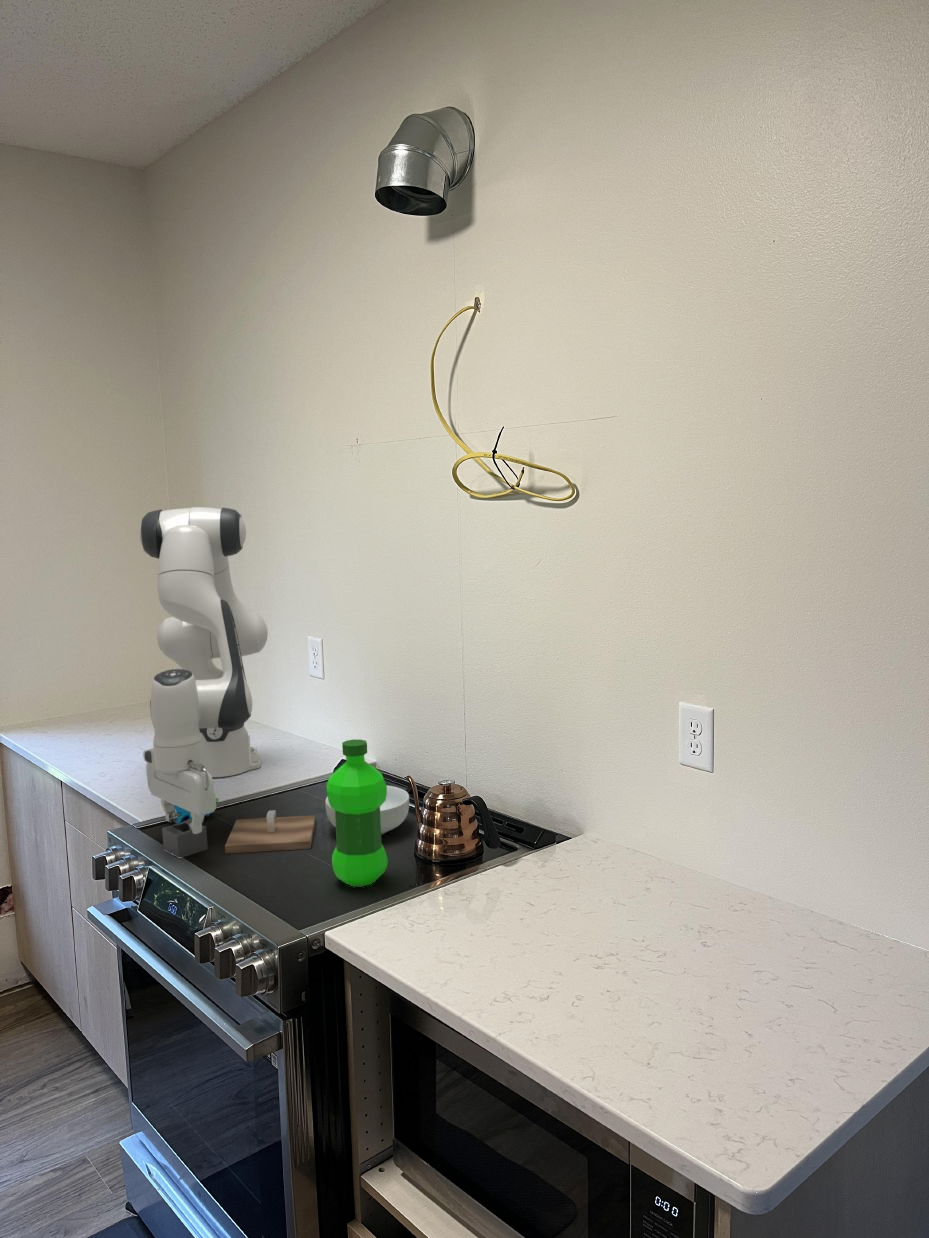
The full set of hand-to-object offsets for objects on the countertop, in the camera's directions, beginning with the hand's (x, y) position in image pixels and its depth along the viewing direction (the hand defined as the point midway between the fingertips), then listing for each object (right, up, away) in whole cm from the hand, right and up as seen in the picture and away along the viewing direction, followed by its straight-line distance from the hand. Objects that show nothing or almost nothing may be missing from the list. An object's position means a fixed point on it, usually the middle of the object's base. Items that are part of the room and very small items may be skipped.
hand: (183, 826), depth 176 cm
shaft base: (+16, -4, +6) cm, 17 cm away
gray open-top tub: (0, -5, +1) cm, 5 cm away
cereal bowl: (+34, -3, +9) cm, 36 cm away
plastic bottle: (+35, -6, -15) cm, 39 cm away
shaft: (+16, -2, +6) cm, 17 cm away
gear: (-3, -3, +17) cm, 18 cm away
